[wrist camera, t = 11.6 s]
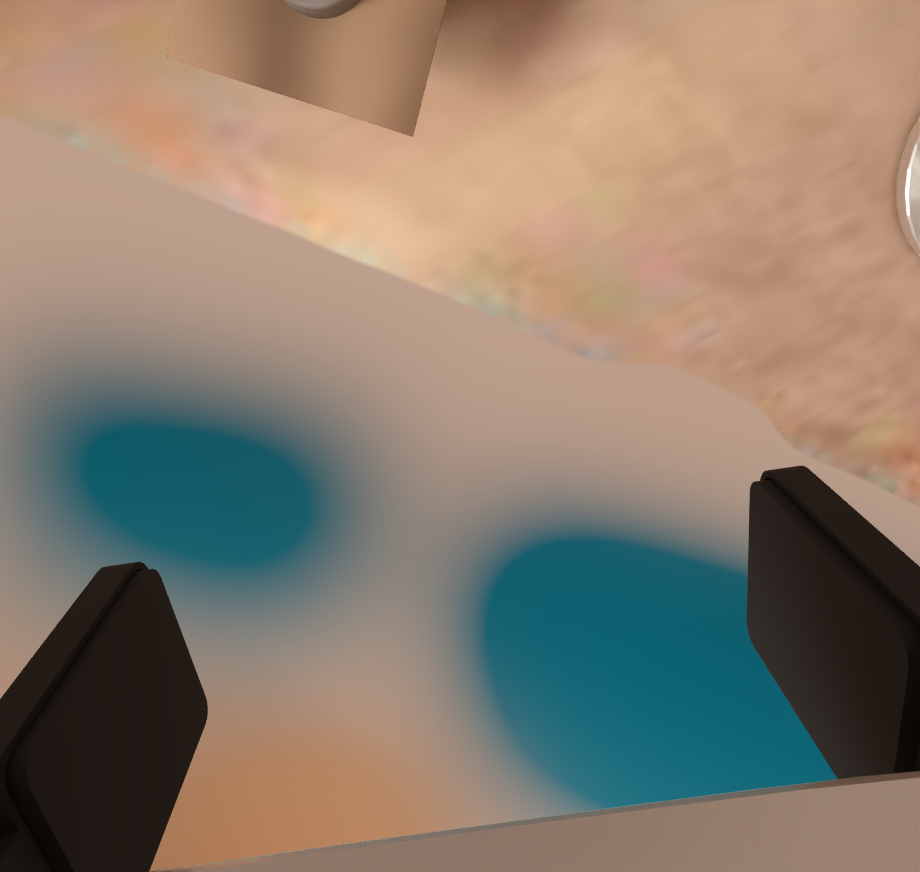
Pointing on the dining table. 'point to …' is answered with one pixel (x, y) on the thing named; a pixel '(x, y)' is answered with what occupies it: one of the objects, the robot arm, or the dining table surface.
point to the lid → (318, 51)
